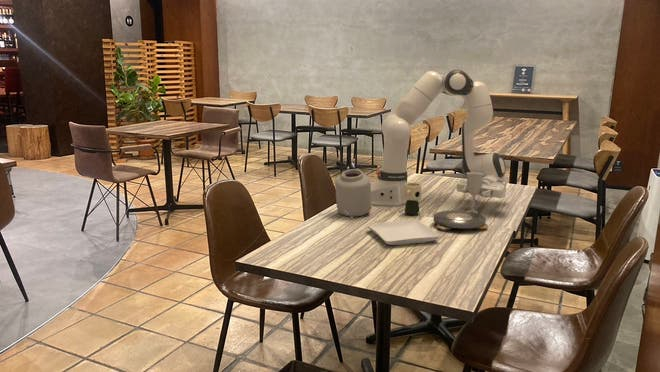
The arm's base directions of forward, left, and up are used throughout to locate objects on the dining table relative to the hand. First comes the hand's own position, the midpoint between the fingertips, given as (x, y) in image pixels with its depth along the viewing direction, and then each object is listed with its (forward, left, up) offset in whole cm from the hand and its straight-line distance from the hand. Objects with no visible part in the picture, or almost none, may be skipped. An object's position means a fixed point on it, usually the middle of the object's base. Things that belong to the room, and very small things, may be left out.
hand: (473, 192), depth 230 cm
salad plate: (-34, -25, -11) cm, 44 cm away
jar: (-50, +5, -10) cm, 51 cm away
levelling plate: (-9, -13, -10) cm, 19 cm away
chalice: (+1, +1, -10) cm, 10 cm away
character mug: (-24, +5, -10) cm, 27 cm away
